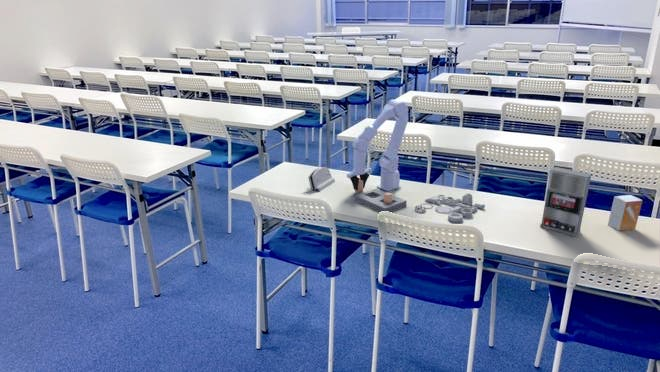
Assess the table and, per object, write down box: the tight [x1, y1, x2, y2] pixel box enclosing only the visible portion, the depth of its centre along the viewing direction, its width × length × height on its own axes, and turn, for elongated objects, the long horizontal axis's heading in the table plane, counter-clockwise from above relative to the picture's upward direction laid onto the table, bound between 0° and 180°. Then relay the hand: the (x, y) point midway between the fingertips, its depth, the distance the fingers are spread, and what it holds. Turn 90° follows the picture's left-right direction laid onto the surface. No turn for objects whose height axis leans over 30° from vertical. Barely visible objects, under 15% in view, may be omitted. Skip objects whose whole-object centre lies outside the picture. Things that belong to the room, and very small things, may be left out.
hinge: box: [308, 167, 336, 193], centre depth 240 cm, size 17×5×10 cm, turn 151°
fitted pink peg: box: [384, 192, 394, 205], centre depth 215 cm, size 4×4×6 cm
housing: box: [354, 188, 407, 212], centre depth 219 cm, size 20×14×2 cm
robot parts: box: [414, 192, 486, 223], centre depth 212 cm, size 25×25×5 cm
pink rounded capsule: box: [354, 179, 364, 194], centre depth 232 cm, size 4×4×6 cm
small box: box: [607, 194, 643, 232], centre depth 192 cm, size 8×6×13 cm
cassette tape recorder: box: [539, 166, 592, 237], centre depth 188 cm, size 14×6×25 cm, turn 49°
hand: (359, 188), depth 232 cm, fingers closed on pink rounded capsule, 4 cm apart
